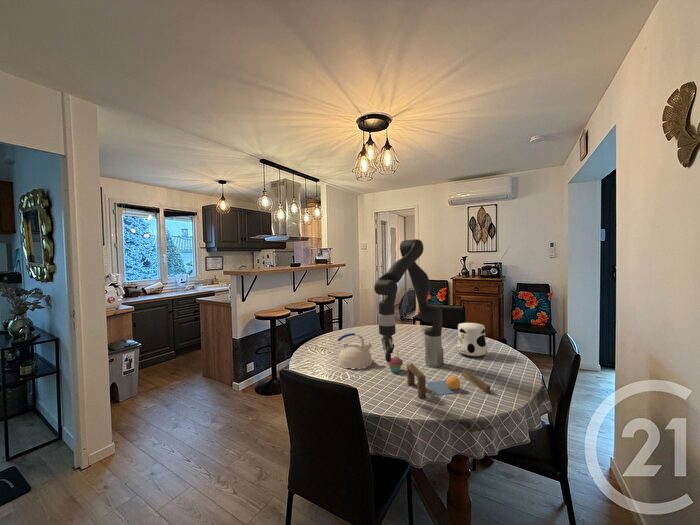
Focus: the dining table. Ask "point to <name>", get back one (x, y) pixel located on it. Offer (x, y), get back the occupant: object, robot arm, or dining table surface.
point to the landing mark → (442, 388)
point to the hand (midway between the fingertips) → (388, 361)
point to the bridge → (421, 379)
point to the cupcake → (395, 363)
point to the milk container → (471, 339)
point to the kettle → (355, 354)
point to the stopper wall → (476, 381)
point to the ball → (453, 382)
